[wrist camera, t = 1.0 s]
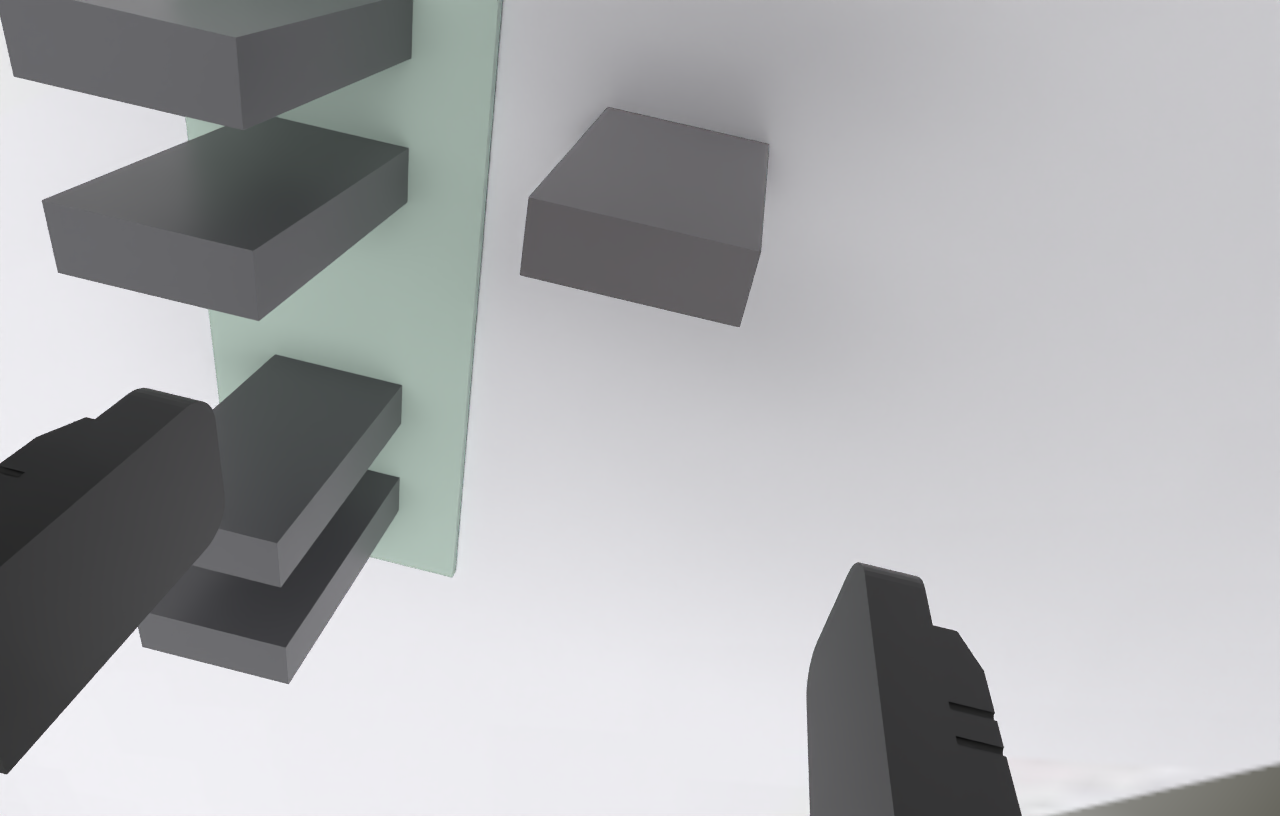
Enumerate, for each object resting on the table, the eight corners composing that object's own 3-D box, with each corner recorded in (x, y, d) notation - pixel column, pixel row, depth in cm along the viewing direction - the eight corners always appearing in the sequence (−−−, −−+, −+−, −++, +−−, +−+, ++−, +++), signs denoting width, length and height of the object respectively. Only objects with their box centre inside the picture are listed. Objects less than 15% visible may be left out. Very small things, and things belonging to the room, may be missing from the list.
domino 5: (769, 144, 25) (761, 251, 17) (753, 201, 26) (739, 327, 18) (607, 107, 25) (528, 197, 17) (598, 165, 26) (519, 275, 18)
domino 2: (409, 148, 26) (253, 250, 18) (407, 202, 27) (259, 321, 19) (257, 112, 26) (41, 200, 19) (261, 168, 27) (58, 272, 20)
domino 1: (413, -8, 24) (235, 37, 16) (411, 58, 24) (243, 130, 17) (246, -46, 24) (-8, -19, 16) (251, 21, 25) (14, 76, 17)
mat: (511, -115, 22) (507, -116, 22) (455, 571, 36) (452, 577, 36) (157, -194, 22) (148, -195, 22) (238, 517, 37) (233, 523, 36)
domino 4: (399, 477, 33) (285, 647, 26) (398, 510, 34) (288, 684, 27) (281, 448, 33) (133, 609, 26) (284, 482, 34) (142, 646, 27)
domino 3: (402, 385, 31) (277, 543, 23) (401, 423, 32) (280, 587, 24) (275, 354, 31) (109, 501, 23) (277, 393, 32) (119, 547, 24)
